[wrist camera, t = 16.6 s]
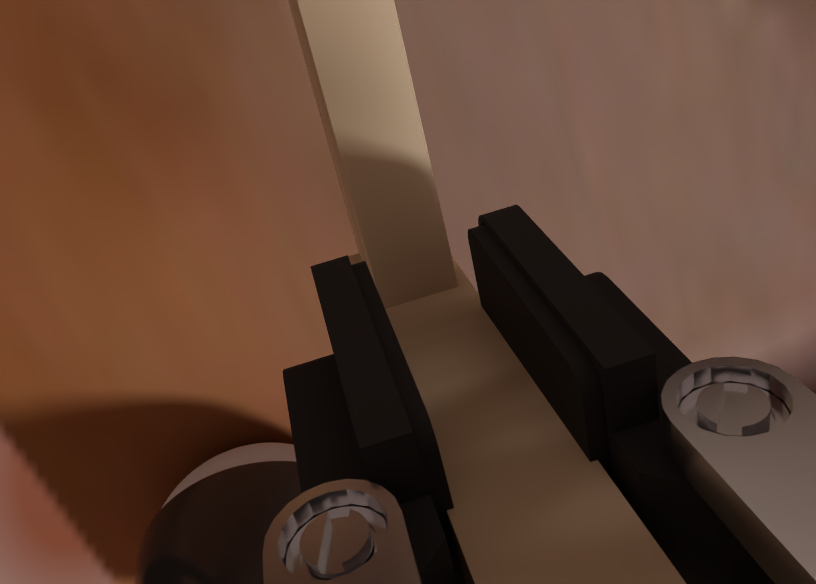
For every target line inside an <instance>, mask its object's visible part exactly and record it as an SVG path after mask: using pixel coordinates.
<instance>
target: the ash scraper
mask: <svg viewBox="0 0 816 584" xmlns="http://www.w3.org/2000/svg"><path fill="white" fill-rule="evenodd" d="M288 4H289V7H290V11H291V14H292V18H293V21H294V25H295V28H296V32H297V35H298V39H299V42H300V46H301V49H302V53H303V57H304V60H305V64H306V67H307V71H308V74H309V78H310V81H311V85H312V88H313V92H314V95H315V99H316V102H317V106H318V109H319V113H320V117H321V120H322V124H323V127H324V131H325V134H326V138H327V141H328V145H329V148H330V152H331V155H332V159H333V162H334V166H335V169H336V173H337V176H338V180H339V184H340V187H341V191H342V194H343V198H344V201H345V205H346V208H347V212H348V215H349V219H350V222H351V226H352V229H353V233H354V236H355V240H356V243H357V247H358V251H359V253H358V254H355V255H352V256H349V260H350V263H351V265H352V264H356V263H359V262H362V261H366V264H367V266H368V268H369V271H370V273H371V276H372V278H373V281H374V283H375V286H376V288H377V290H378V293H379V295H380V298H381V300H382V303H383V305H384V307H385V310H386V312H387V315H388V317H389V320H390V322H391V325H392V327H393V329H394V332H395V334H396V337H397V339H398V342H399V344H400V346H401V349H402V351H403V354H404V356H405V359H406V361H407V364H408V366H409V368H410V371H411V373H412V376H413V378H414V381H415V383H416V385H417V388H418V390H419V393H420V395H421V398H422V400H423V403H424V405H425V407H426V410H427V413H428V415H429V418H430V421H431V424H432V427H433V430H434V433H435V437H436V440H437V443H438V447H439V451H440V455H441V458H442V462H443V466H444V470H445V474H446V478H447V482H448V486H449V490H450V494H451V497H452V501H453V505H454V508H452V509H450V510H447V514H448V518H449V521H450V525H451V529H452V533H453V536H454V540H455V544H456V548H457V552H458V555H459V559H460V563H461V567H462V571H463V574H464V578H465V582H466V584H686V583H685V581H684V580H683V578H682V577H681V576H680V574H679V573H678V571H677V570H676V569H675V567H674V566H673V564H672V563H671V562H670V560H669V559H668V557H667V556H666V555H665V553H664V552H663V550H662V549H661V548H660V546H659V545H658V543H657V542H656V541H655V539H654V538H653V536H652V535H651V534H650V532H649V531H648V529H647V528H646V527H645V525H644V524H643V523H642V521H641V520H640V518H639V517H638V516H637V514H636V513H635V511H634V510H633V509H632V507H631V506H630V504H629V503H628V502H627V500H626V499H625V497H624V496H623V495H622V493H621V492H620V490H619V489H618V488H617V486H616V485H615V483H614V482H613V481H612V479H611V478H610V476H609V475H608V474H607V472H606V471H605V469H604V468H603V467H602V465H601V464H600V463H599V461H598V460H595V461H592V462H590V461H589V460H588V458H587V457H586V455H585V454H584V452H583V451H582V450H581V448H580V447H579V445H578V444H577V442H576V441H575V440H574V438H573V437H572V435H571V434H570V432H569V431H568V429H567V428H566V427H565V425H564V424H563V422H562V421H561V419H560V418H559V417H558V415H557V414H556V412H555V411H554V409H553V408H552V407H551V405H550V404H549V402H548V401H547V399H546V398H545V397H544V395H543V394H542V392H541V391H540V389H539V388H538V387H537V385H536V384H535V382H534V381H533V379H532V378H531V376H530V375H529V374H528V372H527V371H526V369H525V368H524V366H523V365H522V364H521V362H520V361H519V359H518V358H517V356H516V355H515V354H514V352H513V351H512V349H511V348H510V346H509V345H508V344H507V342H506V341H505V339H504V338H503V336H502V335H501V334H500V332H499V331H498V329H497V328H496V326H495V325H494V323H493V322H492V321H491V319H490V318H489V316H488V315H487V313H486V312H485V311H484V309H483V308H482V306H481V302H480V297H479V294H478V292H477V291H476V290H475V288H474V287H473V285H472V284H471V283H470V281H469V280H468V278H467V277H466V276H465V274H464V273H463V271H462V270H461V269H460V267H459V266H458V264H457V263H456V262H455V260H454V259H453V257H452V256H451V252H450V247H449V243H448V239H447V234H446V230H445V225H444V221H443V216H442V212H441V207H440V203H439V199H438V194H437V190H436V185H435V181H434V176H433V172H432V167H431V163H430V159H429V154H428V150H427V145H426V141H425V136H424V132H423V127H422V123H421V119H420V114H419V110H418V105H417V101H416V96H415V92H414V87H413V83H412V79H411V74H410V70H409V65H408V61H407V56H406V52H405V47H404V43H403V39H402V34H401V30H400V25H399V21H398V16H397V12H396V7H395V3H394V0H288Z"/></svg>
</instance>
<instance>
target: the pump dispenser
mask: <svg viewBox="0 0 816 584" xmlns="http://www.w3.org/2000/svg"><path fill="white" fill-rule="evenodd" d="M300 494H301V489H300V482H299V476H298V469H297V463H296V456H295V450H294V445H293V444H287V443H270V442H268V443H256V444H250V445H245V446H241V447H237V448H234V449H231V450H228V451H226V452H223V453H221V454H219V455H217V456H215V457H213V458H211V459H209V460H208V461H206V462H204V463H203V464H201V465H200V466H199V467H197V468H196V469H195V470H193V471H192V472H191V473H190V474H189V475H187V476H186V477H185V478H184V479H183V480H182V481H181V482H180V483H179V485H178V486H177V487H176V488H175V489H174V491H173V492H172V493H171V494H170V496H169V497H168V499H167V500H166V502H165V503H164V505H163V507H162V508H161V510H160V511H159V512H158V513H157V515H156V516H155V517H154V518H153V520H152V521H151V523H150V524H149V526H148V528H147V529H146V531H145V533H144V535H143V538H142V540H141V543H140V546H139V549H138V554H137V560H136V567H135V578H134V584H264V577H263V547H264V541H265V535H266V533H267V531H268V529H269V528H270V526H271V524H272V522H273V520H274V518H275V517H276V516H277V515H278V514H279V513H280V512H281V510H282V509H283V508H284V507H285V506H286V505H287V504H288V503H289V502H290V501H292V500H293V499H295V498H296V497H298V496H299V495H300Z"/></svg>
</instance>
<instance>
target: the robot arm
mask: <svg viewBox="0 0 816 584" xmlns="http://www.w3.org/2000/svg"><path fill="white" fill-rule="evenodd" d="M478 223H479V226H478V227H475V228H472V229H468V240H469V245H470V250H471V255H472V261H473V266H474V271H475V276H476V281H477V287H478V292H479V297H480V302H481V306H482V308H483V309H484V311H485V312H486V313H487V315H488V316H489V318H490V319H491V321H492V322H493V323H494V325H495V326H496V328H497V329H498V331H499V332H500V334H501V335H502V336H503V338H504V339H505V341H506V342H507V344H508V345H509V346H510V348H511V349H512V351H513V352H514V354H515V355H516V356H517V358H518V359H519V361H520V362H521V364H522V365H523V366H524V368H525V369H526V371H527V372H528V374H529V375H530V376H531V378H532V379H533V381H534V382H535V384H536V385H537V387H538V388H539V389H540V391H541V392H542V394H543V395H544V397H545V398H546V399H547V401H548V402H549V404H550V405H551V407H552V408H553V409H554V411H555V412H556V414H557V415H558V417H559V418H560V419H561V421H562V422H563V424H564V425H565V427H566V428H567V429H568V431H569V432H570V434H571V435H572V437H573V438H574V440H575V441H576V442H577V444H578V445H579V447H580V448H581V450H582V451H583V452H584V454H585V455H586V457H587V458H588V460H589V461H590V462H592V461H595V460H598V461H599V463H600V464H601V465H602V467H603V468H604V469H605V471H606V472H607V474H608V475H609V476H610V478H611V479H612V481H613V482H614V483H615V485H616V486H617V488H618V489H619V490H620V492H621V493H622V495H623V496H624V497H625V499H626V500H627V502H628V503H629V504H630V506H631V507H632V509H633V510H634V511H635V513H636V514H637V516H638V517H639V518H640V520H641V521H642V523H643V524H644V525H645V527H646V528H647V529H648V531H649V532H650V534H651V535H652V536H653V538H654V539H655V541H656V542H657V543H658V545H659V546H660V548H661V549H662V550H663V552H664V553H665V555H666V556H667V557H668V559H669V560H670V562H671V563H672V564H673V566H674V567H675V569H676V570H677V571H678V573H679V574H680V576H681V577H682V578H683V580H684V581H685V583H686V584H816V394H814V393H813V392H812V391H811V390H809V389H808V388H807V387H806V386H804V385H803V384H802V383H801V382H800V381H798V380H797V379H796V378H795V377H793V376H792V375H790V374H788V373H787V372H785V371H783V370H782V369H780V368H778V367H777V366H774V365H771V364H768V363H765V362H762V361H759V360H755V359H748V358H740V357H715V358H710V359H705V360H701V361H697V362H693V363H692V362H691V361H690V360H689V359H688V358H687V357H686V356H685V355H684V354H683V353H682V352H681V351H680V350H679V349H678V348H677V347H676V346H675V345H674V344H673V343H672V342H671V341H670V340H669V339H668V338H667V337H666V336H665V335H664V334H663V333H662V332H661V331H660V330H659V329H658V328H657V327H656V326H655V325H654V324H653V323H652V322H651V321H650V320H649V319H648V318H647V316H646V315H645V314H644V313H643V312H642V311H641V310H640V309H639V308H638V307H637V306H636V305H635V304H634V303H633V302H632V301H631V300H630V299H629V298H628V297H627V296H626V295H625V294H624V293H623V292H622V291H621V290H620V289H619V288H618V287H617V286H616V285H615V284H614V283H613V282H612V281H611V280H610V279H609V278H608V277H607V276H606V275H604V274H603V273H601V272H595V273H592V274H589V275H586V276H584V275H583V274H582V273H581V272H580V271H579V270H578V269H577V268H576V267H575V266H574V265H573V264H572V262H571V261H570V260H569V259H568V258H567V257H566V256H565V255H564V254H563V253H562V252H561V251H560V250H559V248H558V247H557V246H556V245H555V244H554V243H553V242H552V241H551V240H550V239H549V238H548V237H547V236H546V235H545V233H544V232H543V231H542V230H541V229H540V228H539V227H538V226H537V225H536V224H535V223H534V222H533V221H532V219H531V218H530V217H529V216H528V215H527V214H526V213H525V212H524V211H523V210H522V209H521V208H520V207H519V206H518V205H514V206H510V207H507V208H504V209H500V210H497V211H494V212H490V213H487V214H484V215H480V216H479V219H478ZM311 270H312V274H313V278H314V281H315V285H316V289H317V293H318V296H319V300H320V304H321V308H322V311H323V315H324V319H325V323H326V326H327V330H328V334H329V338H330V341H331V345H332V349H333V353H334V354H332V355H329V356H326V357H322V358H319V359H316V360H313V361H310V362H306V363H303V364H300V365H297V366H294V367H290V368H287V369H284V370H283V379H284V385H285V392H286V398H287V404H288V411H289V417H290V424H291V430H292V437H293V443H294V450H295V456H296V463H297V469H298V476H299V482H300V489H301V494H300V495H299V496H298V497H296V498H295V499H293V500H292V501H290V502H289V503H288V504H287V505H286V506H285V507H284V508H283V509H282V510H281V512H280V513H279V514H278V515H277V516H276V517H275V518H274V520H273V522H272V524H271V526H270V528H269V529H268V531H267V533H266V535H265V541H264V547H263V577H264V584H466V582H465V578H464V574H463V571H462V567H461V563H460V559H459V555H458V552H457V548H456V544H455V540H454V536H453V533H452V529H451V525H450V521H449V518H448V514H447V510H450V509H452V508H454V505H453V501H452V497H451V494H450V490H449V486H448V482H447V478H446V474H445V470H444V466H443V462H442V458H441V455H440V451H439V447H438V443H437V440H436V437H435V433H434V430H433V427H432V424H431V421H430V418H429V415H428V413H427V410H426V407H425V405H424V403H423V400H422V398H421V395H420V393H419V390H418V388H417V385H416V383H415V381H414V378H413V376H412V373H411V371H410V368H409V366H408V364H407V361H406V359H405V356H404V354H403V351H402V349H401V346H400V344H399V342H398V339H397V337H396V334H395V332H394V329H393V327H392V325H391V322H390V320H389V317H388V315H387V312H386V310H385V307H384V305H383V303H382V300H381V298H380V295H379V293H378V290H377V288H376V286H375V283H374V281H373V278H372V276H371V273H370V271H369V268H368V266H367V264H366V261H362V262H359V263H356V264H352V265H351V263H350V260H349V258H348V255H347V256H344V257H341V258H337V259H334V260H331V261H327V262H324V263H321V264H317V265H314V266H311Z"/></svg>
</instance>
